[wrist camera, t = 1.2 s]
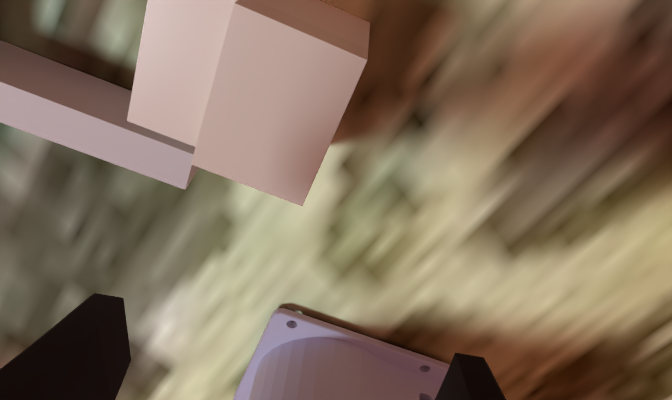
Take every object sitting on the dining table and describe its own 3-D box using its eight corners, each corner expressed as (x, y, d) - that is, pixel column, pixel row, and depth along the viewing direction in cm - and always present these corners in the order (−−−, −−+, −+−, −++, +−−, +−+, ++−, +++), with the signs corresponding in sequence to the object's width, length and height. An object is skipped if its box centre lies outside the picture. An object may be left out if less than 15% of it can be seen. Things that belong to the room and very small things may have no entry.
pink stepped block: (370, 21, 16) (367, 60, 13) (316, 145, 19) (302, 206, 15) (194, -57, 15) (139, -39, 12) (164, 85, 18) (112, 134, 14)
